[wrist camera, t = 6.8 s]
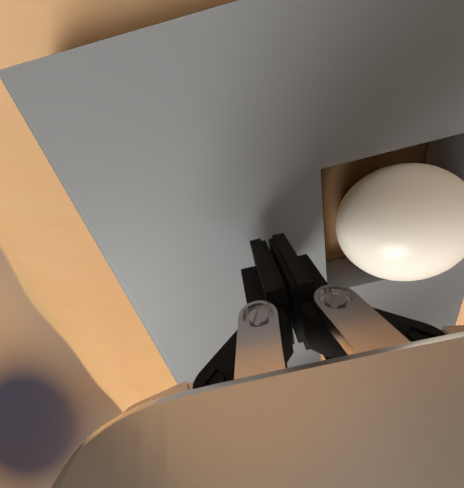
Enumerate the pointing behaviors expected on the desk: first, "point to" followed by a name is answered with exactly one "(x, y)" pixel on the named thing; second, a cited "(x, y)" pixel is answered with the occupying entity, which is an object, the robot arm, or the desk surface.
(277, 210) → the plate
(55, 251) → the desk surface
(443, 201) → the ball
